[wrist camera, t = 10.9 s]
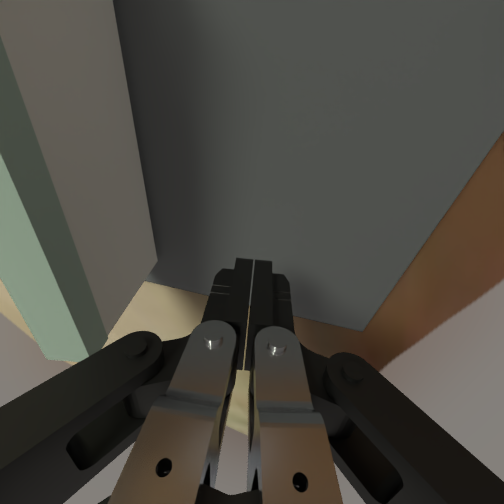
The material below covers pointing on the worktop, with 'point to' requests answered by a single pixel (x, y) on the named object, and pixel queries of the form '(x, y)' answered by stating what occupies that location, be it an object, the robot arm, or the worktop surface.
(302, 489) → the robot arm
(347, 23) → the gate frame
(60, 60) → the gate
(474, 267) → the worktop surface
